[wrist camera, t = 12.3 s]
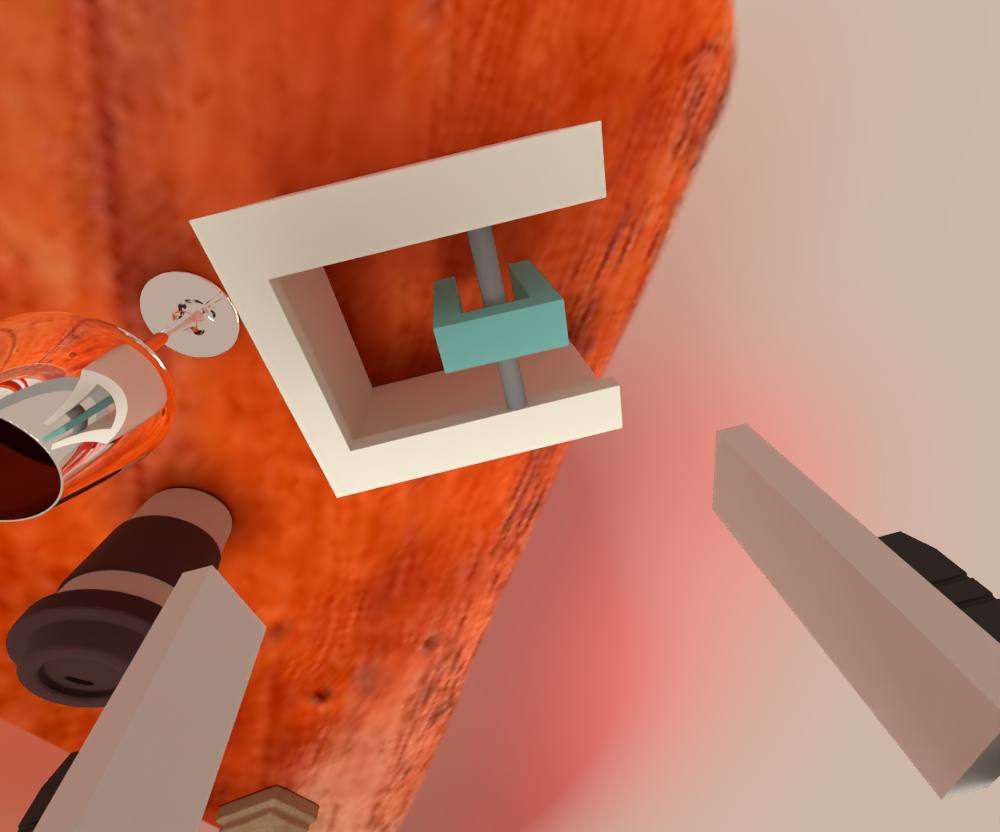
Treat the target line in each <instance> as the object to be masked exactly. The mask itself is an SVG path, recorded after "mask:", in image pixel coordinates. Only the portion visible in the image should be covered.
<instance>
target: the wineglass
mask: <svg viewBox="0 0 1000 832" xmlns="http://www.w3.org/2000/svg"><path fill="white" fill-rule="evenodd" d="M140 309H141V314H142V317H143V319H144V321H145V323H146V325H147V327H148V328H149V330H150V331H151V332H152V333H153V335H152V336H150V337H149V338H147V339H146V340H144V341H141V340H139V339H138V338H137V337H135V336H134V335H132V334H130V333H129V332H127V331H125V330H123V329H122V328H119V327H117V326H115V325H113V324H111V323H108V322H105V321H103V320H99V319H96V318H93V317H89V316H85V315H80V314H74V313H67V312H55V311H41V312H29V313H23V314H17V315H13V316H9V317H6V318H3V319H0V522H12V521H21V520H27V519H31V518H34V517H37V516H40V515H42V514H44V513H46V512H48V511H50V510H52V509H54V508H56V507H58V506H60V505H61V504H63V503H65V502H67V501H69V500H71V499H73V498H75V497H77V496H79V495H81V494H83V493H85V492H86V491H88V490H90V489H92V488H94V487H96V486H98V485H100V484H102V483H103V482H105V481H107V480H109V479H111V478H112V477H114V476H116V475H118V474H120V473H121V472H123V471H125V470H126V469H128V468H130V467H131V466H133V465H135V464H136V463H138V462H139V461H140V460H142V459H143V458H145V457H146V456H147V455H149V454H150V453H151V452H152V451H153V450H154V449H155V448H156V447H157V446H158V445H159V444H160V443H161V442H162V441H163V439H164V438H165V436H166V435H167V433H168V431H169V430H170V428H171V425H172V423H173V419H174V415H175V409H176V397H175V390H174V386H173V383H172V380H171V377H170V375H169V373H168V371H167V369H166V367H165V366H164V364H163V363H162V361H161V360H160V359H159V357H158V356H157V355H156V354H155V353H154V351H155V350H157V349H158V348H160V347H161V346H162V345H164V344H165V345H166V346H168V347H169V348H171V349H173V350H175V351H177V352H179V353H181V354H184V355H187V356H192V357H198V358H208V357H214V356H218V355H221V354H223V353H225V352H226V351H228V350H229V349H230V348H231V347H232V346H233V345H234V344H235V342H236V341H237V339H238V336H239V332H240V319H239V315H238V312H237V310H236V308H235V307H234V305H233V303H232V301H231V299H230V298H229V296H228V295H227V294H226V293H225V292H224V291H223V290H222V289H221V288H220V287H219V286H217V285H216V284H215V283H213V282H212V281H210V280H208V279H206V278H204V277H202V276H200V275H197V274H194V273H190V272H185V271H170V272H165V273H161V274H159V275H157V276H155V277H153V278H152V279H151V280H149V281H148V282H147V284H146V285H145V286H144V288H143V290H142V293H141V296H140Z"/></svg>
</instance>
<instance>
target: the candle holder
mask: <svg viewBox="0 0 1000 832" xmlns="http://www.w3.org/2000/svg"><path fill="white" fill-rule="evenodd" d="M318 809H319V806H318V805H317V804H315V803H313V802H312V801H310V800H308V799H306V798H304V797H302V796H300V795H298V794H296V793H294V792H292V791H290V790H288V789H286V788H284V787H281V786H278V785H276V786H272V787H269V788H266V789H263V790H261V791H258V792H255V793H253V794H250V795H247V796H245V797H242V798H239V799H237V800H234V801H231V802H229V803H226V804H224V805H221V806H220V807H219V811H218V814H217V817H216V820H215V821H216V822H217V823H219V824H220V826H221V827H220V830H219V832H307V831H308V828H309V825H310V823H312V822H314V821H315V820H317V815H318Z"/></svg>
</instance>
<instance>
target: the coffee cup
mask: <svg viewBox="0 0 1000 832" xmlns="http://www.w3.org/2000/svg"><path fill="white" fill-rule="evenodd" d="M231 530H232V518H231V515H230V513H229V511H228V509H227V508H226V507H225V506H224V504H223V503H221V502H220V501H219V500H218V499H216V498H215V497H213V496H211V495H209V494H207V493H205V492H202V491H199V490H195V489H189V488H173V489H167V490H164V491H161V492H159V493H156V494H155V495H153V496H152V497H150V498H149V499H148V500H147V501H146V502H145V503H144V504H143V505H142V506H141V507H140V508H139V509H138V510H137V511H136V512H135V513H134V514H133V516H132V517H131V518H130V519H129V520H128V521H126V522H124V523H122V524H121V525H119V526H118V527H117V528H116V529H115V530H114V531H113V532H112V533H111V534H110V535H109V536H108V537H107V538H106V539H105V540H104V541H103V542H102V543H101V544H100V545H99V546H98V547H97V548H96V549H95V550H94V551H93V552H92V553H91V554H90V555H89V556H88V557H87V558H86V559H85V560H84V561H83V562H82V563H81V564H80V565H79V566H78V567H77V568H76V569H75V570H74V571H73V572H72V573H71V574H70V575H69V576H68V577H67V578H66V579H65V580H64V581H63V582H62V584H61V585H60V587H59V588H58V590H57V593H55V594H52V595H50V596H47V597H44V598H42V599H41V600H39V601H37V602H36V603H34V604H33V605H32V606H30V607H29V608H28V609H27V610H26V611H25V612H24V614H23V615H22V616H21V617H20V618H19V619H18V620H17V621H16V623H15V624H14V625H13V626H12V627H11V629H10V630H9V632H8V634H7V638H6V648H7V652H8V654H9V656H10V658H11V659H12V661H13V662H14V663H15V664H16V665H17V676H18V679H19V681H20V682H21V683H22V684H23V686H24V687H25V688H27V689H28V690H29V691H30V692H32V693H33V694H35V695H37V696H39V697H41V698H43V699H45V700H48V701H51V702H55V703H58V704H63V705H67V706H74V707H91V708H96V707H105V706H106V705H107V703H108V701H109V699H110V698H111V696H112V694H113V692H114V691H115V689H116V687H117V686H118V684H119V682H120V680H121V679H122V677H123V675H124V673H125V672H126V670H127V668H128V667H129V665H130V663H131V661H132V660H133V658H134V656H135V655H136V653H137V651H138V649H139V648H140V646H141V644H142V642H143V641H144V639H145V637H146V636H147V634H148V632H149V630H150V629H151V627H152V625H153V623H154V622H155V620H156V618H157V617H158V615H159V613H160V611H161V610H162V608H163V606H164V604H165V603H166V601H167V599H168V598H169V596H170V594H171V592H172V591H173V589H174V587H175V586H176V584H177V582H178V580H179V579H180V577H181V575H182V573H185V572H188V571H192V570H196V569H200V568H203V567H207V566H211V565H213V567H214V568H215V569H216V570H218V567H219V564H220V561H221V554H222V551H223V549H224V547H225V544H226V542H227V540H228V537H229V535H230V533H231Z"/></svg>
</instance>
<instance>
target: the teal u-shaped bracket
mask: <svg viewBox="0 0 1000 832" xmlns="http://www.w3.org/2000/svg"><path fill="white" fill-rule="evenodd" d="M508 266H509V272H510V278H511V284H512V289H513V295H514V300H515V301H512V302H508V303H504V304H499V305H495V306H490V307H486V308H482V309H477V310H473V311H469V312H464V313H463V309H462V305H461V301H460V297H459V293H458V288H457V284H456V280H455V276H453V277H449V278H444V279H440V280H436V281H434V291H433V332H434V335H435V339H436V342H437V346H438V349H439V353H440V356H441V360H442V363H443V367H444V370H445V374H446V373H450V372H455V371H459V370H463V369H468V368H472V367H476V366H481V365H485V364H490V363H494V362H498V361H503V360H507V359H511V358H516V357H520V356H524V355H529V354H533V353H538V352H542V351H546V350H551V349H555V348H559V347H564V346H568V345H569V340H568V332H567V323H566V314H565V306H564V299H563V298H562V297H561V295H560V294H559V293H558V292H557V291H556V290H555V289H554V287H553V286H552V285H551V284H550V283H549V282H548V281H547V279H546V278H545V277H544V276H543V275H542V274H541V273H540V271H539V270H538V269H537V268H536V267H535V266H534V265H533V263H532V262H531V261H530V260H529V259H528V260H523V261H519V262H515V263H510V264H508Z"/></svg>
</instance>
